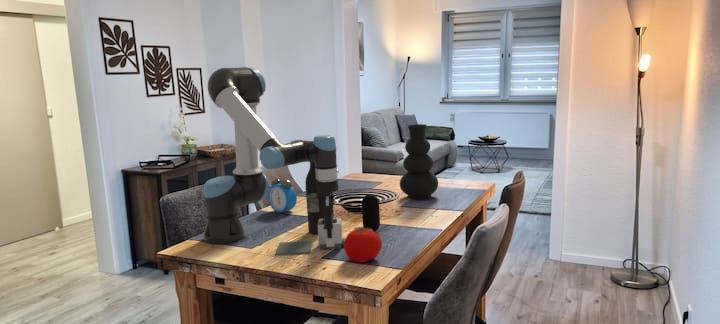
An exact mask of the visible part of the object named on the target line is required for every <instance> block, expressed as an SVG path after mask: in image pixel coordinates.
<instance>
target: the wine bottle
mask: <svg viewBox="0 0 720 324" xmlns="http://www.w3.org/2000/svg"><path fill="white" fill-rule="evenodd" d="M317 181H318V180H317V179H316V171H315V162H309V170H308V173H307V174H306V177H305V198H306V210H307V223H308V224H307V226H308V227H307V228H308V233H310V234H313V235H318V221H319V219H325V215H324V208H323V201H322V197H323V195H324V193H323V192H322V193H321V192H318V191H317V184H316V182H317Z"/></svg>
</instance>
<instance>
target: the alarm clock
mask: <svg viewBox="0 0 720 324" xmlns="http://www.w3.org/2000/svg"><path fill="white" fill-rule="evenodd" d="M267 199H268V203H269V206H270V207H271V208H272V210H274V212H277V213H280V214H282V213H284V214H286V212H288V211H291V210H292V209H294V208H295V207H296V205H297V201H298V200H297V193H296V189H295V188H294V186H293V183H292V181H291V180H290V179H283V180H281V179H279V178H273V180H272V181H271V182H270V186H269V191H268V194H267Z"/></svg>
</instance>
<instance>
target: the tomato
mask: <svg viewBox="0 0 720 324" xmlns="http://www.w3.org/2000/svg"><path fill="white" fill-rule="evenodd" d="M345 238H346V239H345V242H344V246H343V248H344V253H345V255H346V256H347V257H348V258H349V259H350V260H352V261H353V262H357V263H365V262H369V261H371V260H373V259H375V258H376V257H377V256H378V255H379V254H380V251H381V250H382V246H383V245H382V243H383V242H382V238H381V237H380V235H379V234H378V233H377V232H374V231H372V230H369V229H366V228H365V229H362V228H361V229H356V230H354V229H353V230H352V231H350V232H349V233H348V234H347V235H346V237H345Z"/></svg>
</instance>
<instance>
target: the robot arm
mask: <svg viewBox="0 0 720 324" xmlns="http://www.w3.org/2000/svg"><path fill="white" fill-rule="evenodd" d="M266 85H267V84H266V80H265V78H264V75H263V74H262V73H261V71H260V70H259V69H257V68H255V67H246V66H243V67H220V68H217V70H214V72H212V73H211V74H210V77H209V78H208V81H207V91H208V95H209V97H210V99H211V101H212V102H213V103H214V104H215V106H217V108H219V109H223V110H224V112H225V113H226V114H227V115H228V116H229V118H230V119H231V120H232V121H233V125H234V143H235V145H234V146H235V162H236V164H235V165H236V166H235V168H234V169H233V170H232V175H222V176H217V177H214V178H213V177H212V178H211V179H208V180H207V181H206V182H205V183H204V185H203V197H204V204H205V214H206V224H205V226H204V227H205V228H204V232H203V240H204V242H205V243H206V244H212V245H213V244H214V245H223V244H230V243H233V242H237V241H240V240H242V239H243V238H244V237H245V229H244V227H243V225H242V223H241V219H240V218H239V214H238V213H239V212H238V208H241V207H244V206H248V205H252V204H256V203H258V202H260V201H262V200H264V199H265V198H266V197H268V191H269V189H270V183H269V179H268V178H267V176H266V174H265V173H263V169H262V168H261V167H260V166H259V161H260V163H261V165H262V167H263V168H265V169H267V170H273V169H274V170H276V169H280V168H282V167H283V168H284V167H287V166H290V165H297V164H301V163H310V162H315V171H316V179H317V180H318V181H317V182H316V184H317V191H318V192H321V193H322V192H323V193H324V195H323V197H322V201H323V208H324V215H325V227H323V229H325V231H326V246H327V247H334V232H333V222H332V215H333V214H334V205H335V204H334V203H335V202H334V201H335V195H334V193H335V192H337V191H338V190H339V180H338V173H339V172H340V170H339V169H338V164H337V144H336V138H335V136H334V135H331V134H323V135H316V136H314V137H313V140H303V139H297V140H295V139H294V140H291V141H290V142H288V143H282V142H281V141H280V140H279V139H278V137H277V136H276V135H275V134H274V133H273V131H272V130H270V128H269V127H268V126H267V125H266V124H265V123H264V122H263V121H262V120H261V118H260V117H259V116H258V115H257V106H259V104H260V103H261V101H260V98H261V97H262V96H263V95H264V94H265V92H266V88H267V86H266ZM258 153H259V154H258ZM334 215H335V214H334Z"/></svg>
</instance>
